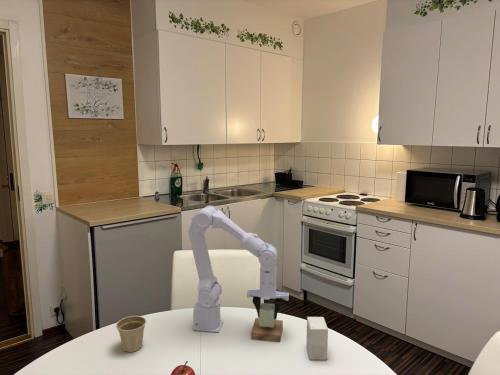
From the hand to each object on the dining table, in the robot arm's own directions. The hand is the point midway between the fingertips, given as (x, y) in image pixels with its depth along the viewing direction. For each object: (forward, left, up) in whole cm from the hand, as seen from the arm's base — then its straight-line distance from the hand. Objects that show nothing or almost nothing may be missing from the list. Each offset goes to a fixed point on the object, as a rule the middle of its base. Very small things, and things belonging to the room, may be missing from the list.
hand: (267, 317), depth 132 cm
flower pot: (-43, -16, -6) cm, 46 cm away
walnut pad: (0, 0, -6) cm, 6 cm away
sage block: (0, 0, -2) cm, 2 cm away
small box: (+17, -9, -6) cm, 20 cm away
